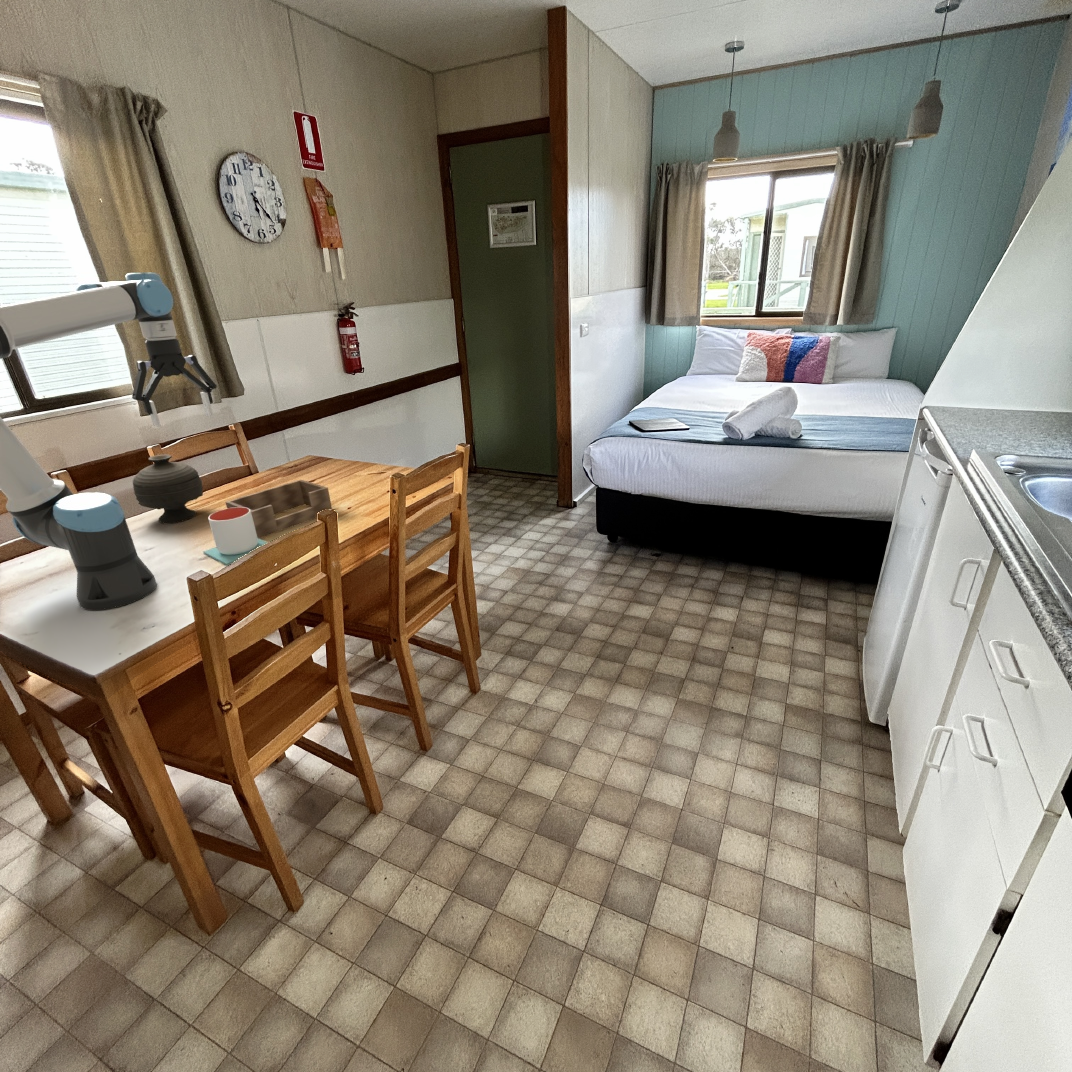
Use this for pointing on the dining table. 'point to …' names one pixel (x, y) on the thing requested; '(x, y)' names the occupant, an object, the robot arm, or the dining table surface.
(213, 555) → the mat
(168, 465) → the pot
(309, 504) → the crate
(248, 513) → the cup
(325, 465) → the dining table surface
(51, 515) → the robot arm
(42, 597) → the dining table surface
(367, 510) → the dining table surface
